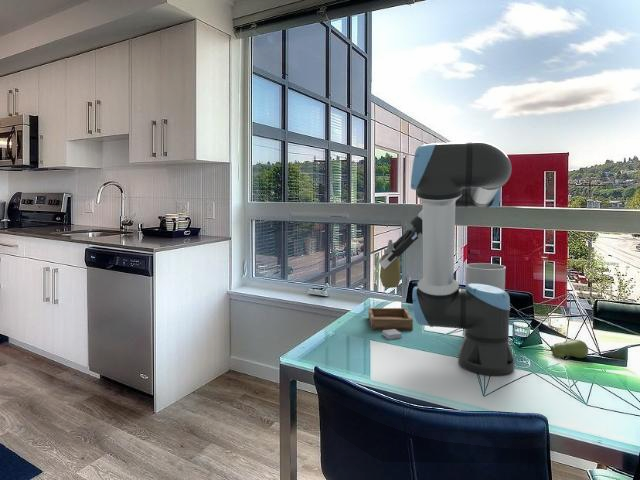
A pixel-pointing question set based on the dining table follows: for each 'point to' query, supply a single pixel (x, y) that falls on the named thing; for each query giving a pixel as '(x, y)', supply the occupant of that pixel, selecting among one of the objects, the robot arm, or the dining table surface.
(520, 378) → the dining table surface
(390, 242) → the squeeze bottle
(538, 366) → the dining table surface
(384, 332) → the grey flat block
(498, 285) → the cylinder vase
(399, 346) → the dining table surface
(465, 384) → the dining table surface
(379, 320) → the tray
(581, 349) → the pear
